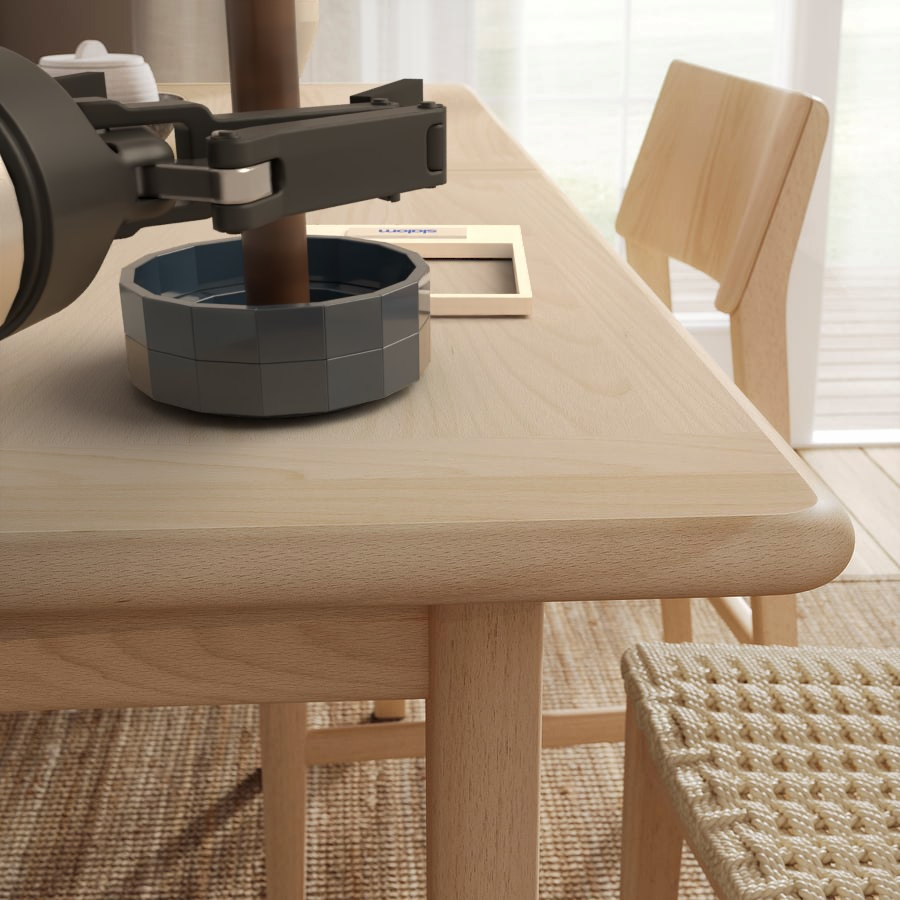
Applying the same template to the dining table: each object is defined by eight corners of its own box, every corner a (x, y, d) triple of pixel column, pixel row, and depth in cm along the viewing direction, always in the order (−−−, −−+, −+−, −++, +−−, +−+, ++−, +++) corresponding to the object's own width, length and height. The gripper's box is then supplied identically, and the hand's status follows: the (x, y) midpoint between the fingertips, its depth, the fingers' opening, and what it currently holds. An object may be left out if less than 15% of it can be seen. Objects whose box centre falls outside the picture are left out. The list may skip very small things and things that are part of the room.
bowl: (68, 391, 51) (52, 279, 49) (267, 318, 61) (260, 223, 59) (303, 454, 45) (296, 327, 43) (482, 361, 55) (483, 255, 53)
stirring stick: (237, 366, 52) (207, -19, 46) (278, 350, 54) (255, -20, 48) (285, 377, 51) (262, -19, 45) (325, 360, 53) (308, -20, 47)
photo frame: (519, 222, 78) (532, 293, 61) (519, 239, 78) (531, 314, 61) (299, 221, 78) (252, 293, 61) (300, 238, 78) (254, 313, 62)
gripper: (-462, 325, 32) (-6, 190, 51) (399, 401, 27) (555, 218, 46) (-552, 39, 30) (-34, 8, 49) (392, 56, 24) (561, 13, 43)
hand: (252, 110), depth 47 cm, fingers open, 13 cm apart
